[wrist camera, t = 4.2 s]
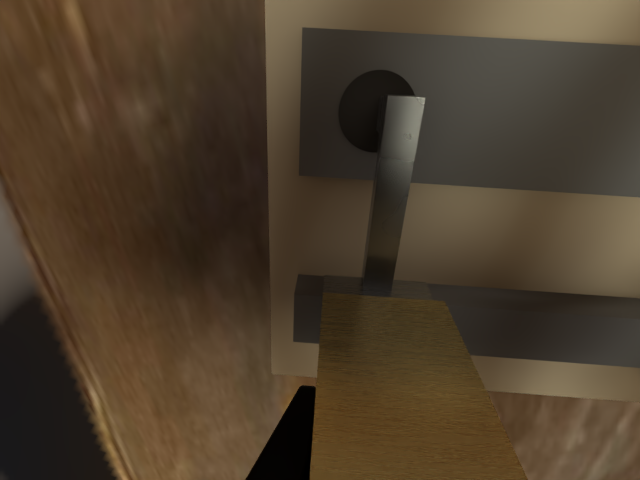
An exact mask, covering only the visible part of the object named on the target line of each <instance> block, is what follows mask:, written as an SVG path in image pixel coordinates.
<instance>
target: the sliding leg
mask: <svg viewBox="0 0 640 480" xmlns="http://www.w3.org/2000/svg"><path fill="white" fill-rule="evenodd" d="M424 103H425V97H422V96H413V95H395V94H384V97H382V96H380V101H379V110H378V118H377V126H376V130H377V132H378V133H379V142H378V149H377V157H376V165H375V173H374V181H373V189H372V197H371V205H370V213H369V221H368V229H367V237H366V245H365V253H364V261H363V269H362V277H347V276H333V275H324V286H323V299H322V313H321V327H320V341H319V355H318V369H317V383H316V397H315V411H314V425H313V439H312V453H311V467H310V480H528V479H527V477H526V475H525V473H524V470H523V468H522V466H521V464H520V462H519V460H518V457H517V455H516V453H515V451H514V449H513V447H512V445H511V442H510V440H509V438H508V436H507V434H506V432H505V430H504V427H503V425H502V423H501V421H500V419H499V417H498V414H497V412H496V410H495V408H494V406H493V404H492V402H491V399H490V397H489V395H488V393H487V391H486V389H485V387H484V384H483V382H482V380H481V378H480V376H479V374H478V371H477V369H476V367H475V365H474V363H473V361H472V359H471V356H470V354H469V352H468V350H467V348H466V346H465V344H464V341H463V339H462V337H461V335H460V333H459V331H458V328H457V326H456V324H455V322H454V320H453V318H452V316H451V313H450V311H449V309H448V307H447V305H446V303H445V301H435V300H433V298H432V296H431V293H430V291H429V288H428V286H427V284H426V282H418V281H404V280H393V279H394V273H395V267H396V262H397V256H398V250H399V245H400V239H401V233H402V228H403V222H404V216H405V211H406V205H407V200H408V194H409V188H410V183H411V177H412V171H413V166H414V160H415V154H416V149H417V143H418V137H419V132H420V126H421V120H422V115H423V109H424Z"/></svg>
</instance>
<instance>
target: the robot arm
mask: <svg viewBox="0 0 640 480" xmlns="http://www.w3.org/2000/svg"><path fill="white" fill-rule="evenodd" d="M315 397H316V387H314V386H304V385H303V386H300V387H299V389H298V390H297V392H296V394H295V396H294V397H293V399H292V401H291V402H290V404H289V406H288V408H287V409H286V411H285V413H284V414H283V416H282V418H281V420H280V421H279V423H278V425H277V426H276V428H275V430H274V432H273V433H272V435H271V437H270V438H269V440H268V442H267V444H266V445H265V447H264V449H263V450H262V452H261V454H260V456H259V457H258V459H257V461H256V463H255V464H254V466H253V468H252V469H251V471H250V473H249V475H248V476H247V478H246V480H310V467H311V453H312V439H313V425H314V411H315Z"/></svg>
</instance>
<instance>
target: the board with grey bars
mask: <svg viewBox="0 0 640 480" xmlns="http://www.w3.org/2000/svg"><path fill="white" fill-rule="evenodd" d="M265 37H266V92H267V147H268V202H269V257H270V312H271V367H272V374H277V375H290V376H303V377H316V378H317V369H318V355H319V341H320V327H321V313H322V299H323V286H324V275H333V276H347V277H362V269H363V261H364V253H365V245H366V237H367V229H368V221H369V213H370V205H371V197H372V189H373V181H374V173H375V165H376V157H377V149H378V142H379V133H378V132H377V130H376V126H377V118H378V110H379V101H380V96H382V97H384V94H395V95H413V96H422V97H425V103H424V109H423V115H422V120H421V126H420V132H419V137H418V143H417V149H416V154H415V160H414V166H413V171H412V177H411V183H410V188H409V194H408V200H407V205H406V211H405V216H404V222H403V228H402V233H401V239H400V245H399V250H398V256H397V262H396V267H395V273H394V279H393V280H404V281H418V282H426V284H427V286H428V288H429V291H430V293H431V296H432V298H433V300H435V301H445V303H446V305H447V307H448V309H449V311H450V313H451V316H452V318H453V320H454V322H455V324H456V326H457V328H458V331H459V333H460V335H461V337H462V339H463V341H464V344H465V346H466V348H467V350H468V352H469V354H470V356H471V359H472V361H473V363H474V365H475V367H476V369H477V371H478V374H479V376H480V378H481V380H482V382H483V384H484V387H485V389H486V391H498V392H511V393H524V394H537V395H550V396H563V397H576V398H589V399H602V400H614V401H627V402H640V0H265Z"/></svg>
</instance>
